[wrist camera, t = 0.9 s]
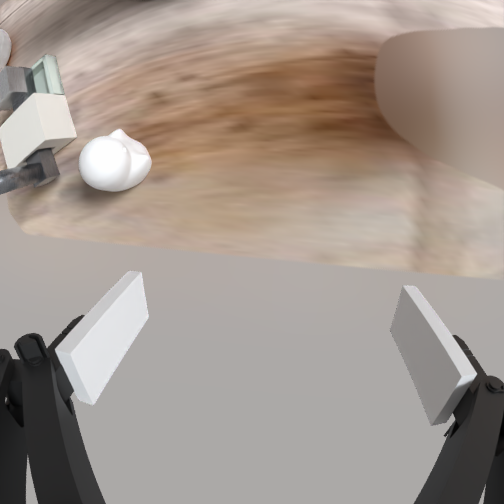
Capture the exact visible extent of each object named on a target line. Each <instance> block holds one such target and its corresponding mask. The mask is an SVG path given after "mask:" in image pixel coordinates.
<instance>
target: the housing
mask: <svg viewBox="0 0 504 504" xmlns="http://www.w3.org/2000/svg"><path fill="white" fill-rule="evenodd" d="M75 138H77V135H76V132H75V129H74V125H73V122H72V119H71V115H70V112H69V108H68V105H67V101H66V98H65V95H56V94H45V93H33V94H32V95H31V96H30V97H29V98H28V99H27V100H26V101H25V102H23V103H22V104H21V105H20V106H19V107H18V109H17V110H16V111H15V112H14V113H13V114H12V115H11V116H10V117H9V118H8V119H7V120H6V121H5V122H4V123H3V124H2V126H1V127H0V140H1V144H2V148H3V152H4V156H5V160H6V164H7V167H8V169H10V168H14V167H18V166H23V165H27V162H26V159H27V158H28V157H29V156H30V155H32V154H33V153H34V152H35V151H36V150H37V149H43V148H50V147H51V149H52V152H53V155H54V154H55V153H56V152H58V151H59V150H60V149H61V148H63V147H64V146H66V145H67V144H68V143H70V142H71V141H72V140H74V139H75Z"/></svg>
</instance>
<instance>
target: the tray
mask: <svg viewBox="0 0 504 504" xmlns="http://www.w3.org/2000/svg"><path fill="white" fill-rule="evenodd" d="M31 68H32V72H33V77H34V82H35V87H36V92H37V93H45V94H56V95H65V94H64V90H63V86H62V82H61V78H60V74H59V69H58V65H57V60H56V57H55V56H51V55H47V54H45V55H44V56H43V57H42V58H41V59H40V60H38V61H37V62H36V63H35V64H34V65H33V66H32V67H31Z"/></svg>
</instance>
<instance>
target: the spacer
mask: <svg viewBox="0 0 504 504" xmlns="http://www.w3.org/2000/svg"><path fill="white" fill-rule="evenodd" d="M26 93H27V87H26V81H25V75H24V69H23V68H21V67H13V66H5V67H4V68H3V70H2V71H1V72H0V111H1V110H10V109H11V108H12V107H13V106H14V105H15V104H16V103H17V102H18V101H19V100H20V99H21V98H22V97H23V96H24V95H25V94H26Z"/></svg>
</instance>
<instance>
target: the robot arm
mask: <svg viewBox="0 0 504 504" xmlns="http://www.w3.org/2000/svg"><path fill="white" fill-rule="evenodd" d="M148 318H149V315H148V310H147V304H146V298H145V292H144V285H143V279H142V272H137V271H128V272H127V273H126V274H125V275H124V276H123V277H122V278H121V279H120V280H119V281H118V282H117V283H116V284H115V285H114V286H113V287H112V288H111V289H110V290H109V291H108V292H107V293H106V294H105V295H104V296H103V297H102V298H101V299H100V300H99V302H97V304H96V305H95V306H94V307H93V308H92V309H91V310H90V311H89V312H88V313H87V314H86V315H81V316H79V317H78V318H76V319H74V320H73V321H72V322H71V323H70V324H69V325H68V326H67V328H65V329H64V330H63V331H62V334H60V335H59V336H58V337H57V338H56V339H55V340H54V341H53V342H52V343H51V345H50V346H49V347H48V348H46V346H45V343H44V341H43V339H42V336H40V335H39V334H36V333H31V334H26V335H24V336H22V337H21V338H19V339H18V340H17V342H16V343H15V345H14V348H15V350H16V352H17V354H18V356H19V358H20V360H18V359H12V357H11V355H10V353H9V351H8V350H6V349H0V504H26V469H27V455H28V458H29V464H30V469H31V474H32V479H33V484H34V488H35V492H36V496H37V500H38V504H106V503H105V501H104V499H103V496H102V494H101V491H100V489H99V486H98V484H97V481H96V478H95V476H94V473H93V471H92V468H91V465H90V462H89V459H88V456H87V453H86V450H85V447H84V443H83V440H82V436H81V433H80V430H79V426H78V422H77V418H76V414H75V410H74V406H73V402H72V400H71V398H70V396H71V394H72V393H73V391H74V392H75V394H76V396H77V398H78V400H79V401H82V402H85V403H88V404H91V405H94V404H95V402H96V401H97V399H98V397H99V396H100V394H101V392H102V391H103V389H104V387H105V386H106V384H107V382H108V381H109V379H110V377H111V376H112V374H113V373H114V371H115V369H116V368H117V366H118V365H119V363H120V361H121V360H122V358H123V356H124V355H125V353H126V352H127V350H128V349H129V347H130V345H131V344H132V342H133V341H134V339H135V338H136V336H137V335H138V333H139V331H140V330H141V328H142V327H143V325H144V324H145V322H146V321H147V319H148ZM390 332H391V334H392V336H393V338H394V340H395V342H396V344H397V346H398V348H399V351H400V353H401V355H402V357H403V359H404V362H405V364H406V366H407V368H408V370H409V373H410V375H411V378H412V380H413V382H414V384H415V387H416V389H417V392H418V394H419V397H420V399H421V401H422V404H423V406H424V409H425V412H426V414H427V417H428V419H429V422H430V424H431V426H433V425H437V424H442V423H446V422H447V420H448V419H449V418H450V416H451V414H452V413H453V414H454V417H455V419H456V420H455V421H454V423H453V424H452V425H451V426H450V428H449V429H448V431H447V432H446V433H445V435H444V436H445V437H446V436H447V434H448V436H447V438H446V441H445V443H444V445H443V448H442V450H441V452H440V454H439V457H438V459H437V461H436V463H435V465H434V467H433V469H432V471H431V473H430V475H429V477H428V479H427V481H426V483H425V485H424V487H423V488H422V490H421V492H420V494H419V495H418V497H417V499H416V501H415V502H414V504H478V503H479V501H480V498H481V495H482V492H483V490H484V487H485V484H486V488H485V496H484V503H483V504H504V383H503V382H502V381H501V380H500V379H498V378H497V377H494V376H487V375H486V373H485V372H484V371H483V369H482V367H481V366H480V364H479V363H478V361H477V360H476V359H475V357H474V356H473V354H472V352H471V351H470V350H469V348H468V346H467V345H466V344H465V342H464V341H463V340H462V339H460V338H459V337H458V336H456V335H451V333H450V332H449V330H448V329H447V328H446V326H445V325H444V324H443V322H442V321H441V319H440V318H439V316H438V315H437V314H436V312H435V311H434V310H433V308H432V307H431V306H430V304H429V303H428V302H427V300H426V299H425V298H424V296H423V295H422V294H421V293H420V291H419V290H418V289H417V287H416V286H402V290H401V294H400V298H399V301H398V305H397V308H396V312H395V315H394V319H393V322H392V326H391V329H390ZM5 398H7V401H6V403H5Z"/></svg>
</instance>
